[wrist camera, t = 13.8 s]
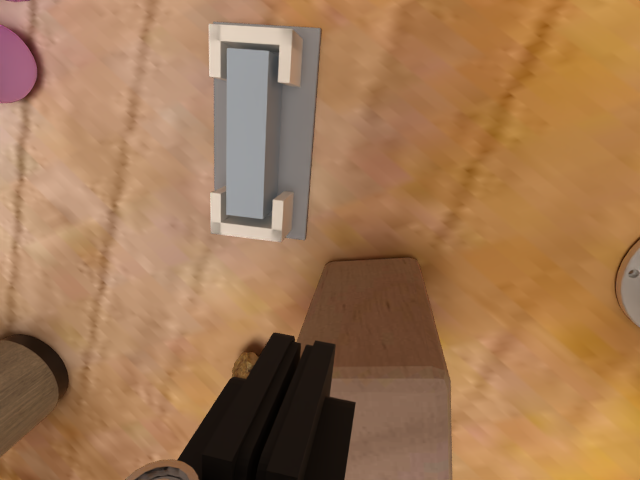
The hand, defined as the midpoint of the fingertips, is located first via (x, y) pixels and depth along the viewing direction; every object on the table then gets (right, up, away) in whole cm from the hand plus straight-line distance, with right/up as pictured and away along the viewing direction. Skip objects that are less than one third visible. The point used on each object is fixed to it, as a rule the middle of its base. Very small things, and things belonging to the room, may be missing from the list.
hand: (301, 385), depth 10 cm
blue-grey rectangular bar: (-5, +14, +27) cm, 31 cm away
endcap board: (-5, +14, +28) cm, 32 cm away
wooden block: (+6, -3, +32) cm, 33 cm away
